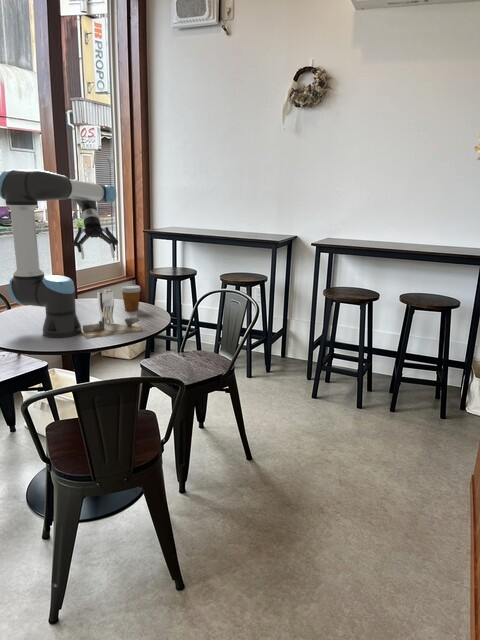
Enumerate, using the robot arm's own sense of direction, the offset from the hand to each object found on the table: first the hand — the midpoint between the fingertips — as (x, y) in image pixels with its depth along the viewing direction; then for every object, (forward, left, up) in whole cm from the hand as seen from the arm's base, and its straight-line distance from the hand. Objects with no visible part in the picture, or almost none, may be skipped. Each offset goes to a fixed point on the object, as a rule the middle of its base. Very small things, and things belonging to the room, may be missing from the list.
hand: (98, 256), depth 221 cm
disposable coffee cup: (+16, +2, -28) cm, 32 cm away
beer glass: (-2, -16, -28) cm, 32 cm away
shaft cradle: (-4, -27, -28) cm, 39 cm away
